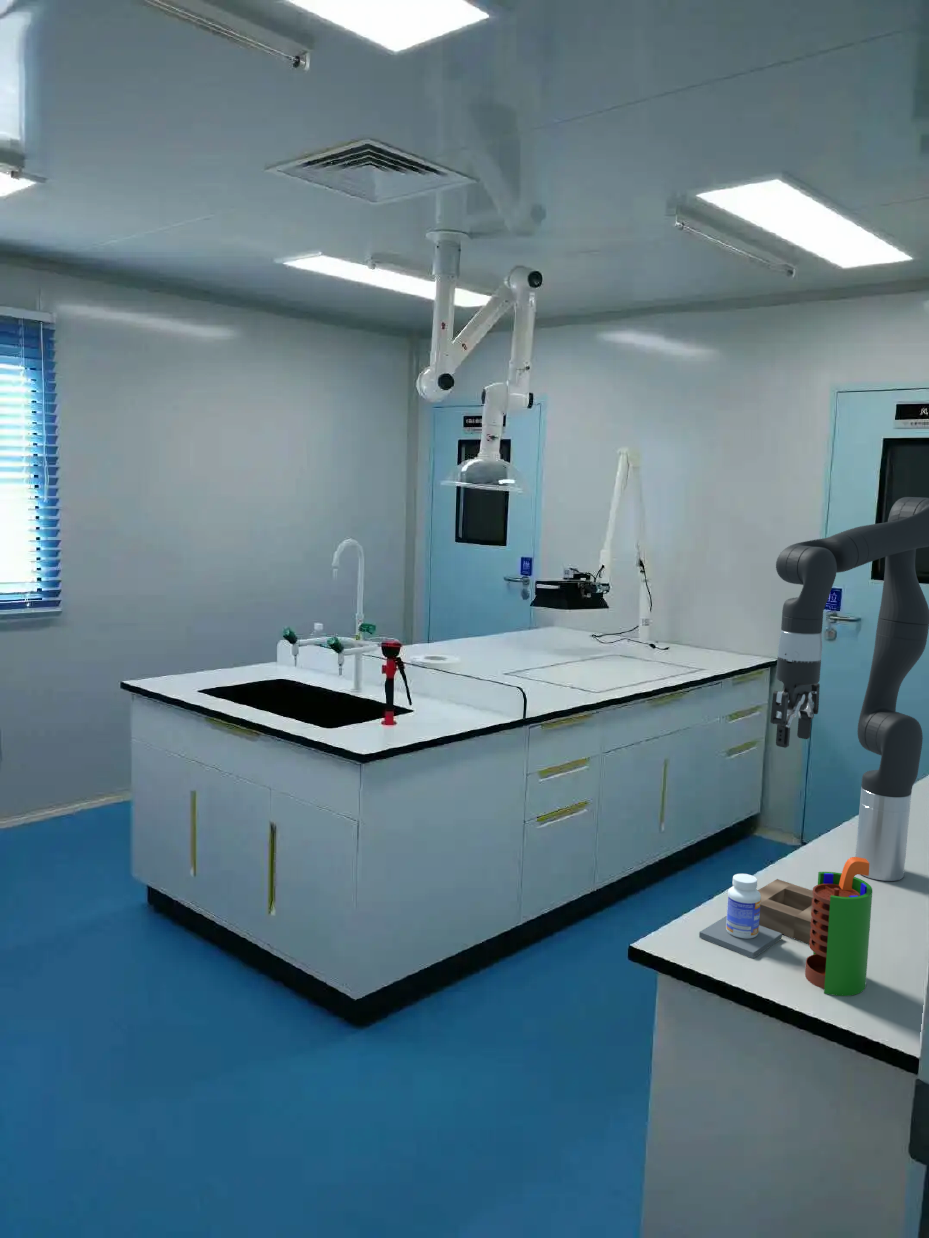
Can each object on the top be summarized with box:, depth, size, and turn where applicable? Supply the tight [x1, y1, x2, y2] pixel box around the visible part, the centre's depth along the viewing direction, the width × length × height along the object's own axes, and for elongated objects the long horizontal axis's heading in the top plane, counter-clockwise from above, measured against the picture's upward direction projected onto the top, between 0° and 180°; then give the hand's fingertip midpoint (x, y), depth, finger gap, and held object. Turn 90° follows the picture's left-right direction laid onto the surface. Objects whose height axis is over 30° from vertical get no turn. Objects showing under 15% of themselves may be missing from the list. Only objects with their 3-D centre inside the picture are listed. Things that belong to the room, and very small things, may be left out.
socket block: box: [757, 878, 814, 945], centre depth 172 cm, size 13×13×4 cm
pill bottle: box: [726, 873, 761, 939], centre depth 164 cm, size 5×5×10 cm
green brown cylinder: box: [804, 856, 873, 997], centre depth 150 cm, size 10×9×20 cm
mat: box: [698, 915, 783, 959], centre depth 165 cm, size 10×10×1 cm
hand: (793, 742), depth 177 cm, fingers open, 8 cm apart
